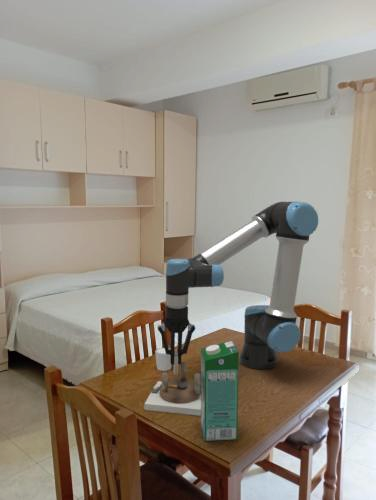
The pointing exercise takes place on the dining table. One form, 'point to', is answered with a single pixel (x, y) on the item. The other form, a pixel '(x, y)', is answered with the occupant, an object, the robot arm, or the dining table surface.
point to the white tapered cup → (162, 359)
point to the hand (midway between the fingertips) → (175, 373)
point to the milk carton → (219, 391)
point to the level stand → (171, 404)
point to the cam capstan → (180, 387)
